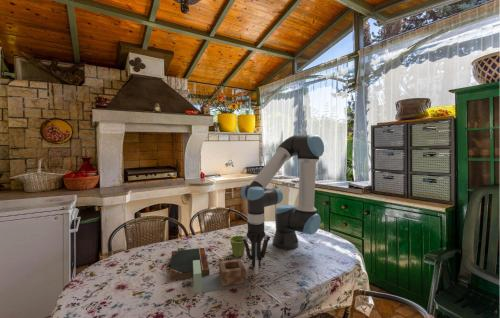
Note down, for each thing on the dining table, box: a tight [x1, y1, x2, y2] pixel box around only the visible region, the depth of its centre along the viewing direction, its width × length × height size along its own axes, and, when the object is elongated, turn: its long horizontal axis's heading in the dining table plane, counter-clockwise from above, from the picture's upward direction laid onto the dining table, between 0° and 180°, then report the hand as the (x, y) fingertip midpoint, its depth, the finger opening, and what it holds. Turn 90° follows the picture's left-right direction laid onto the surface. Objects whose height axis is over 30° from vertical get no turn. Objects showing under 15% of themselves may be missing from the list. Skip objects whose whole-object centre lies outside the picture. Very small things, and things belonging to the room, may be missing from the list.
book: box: [169, 247, 211, 281], centre depth 123 cm, size 17×4×25 cm
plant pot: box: [228, 235, 246, 258], centre depth 135 cm, size 9×9×9 cm
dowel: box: [255, 243, 262, 268], centre depth 122 cm, size 4×4×12 cm
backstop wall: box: [192, 260, 202, 294], centre depth 106 cm, size 3×12×8 cm, turn 15°
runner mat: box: [201, 272, 249, 294], centre depth 109 cm, size 20×13×1 cm, turn 105°
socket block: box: [218, 258, 247, 286], centre depth 110 cm, size 10×10×6 cm
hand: (256, 273), depth 113 cm, fingers closed
